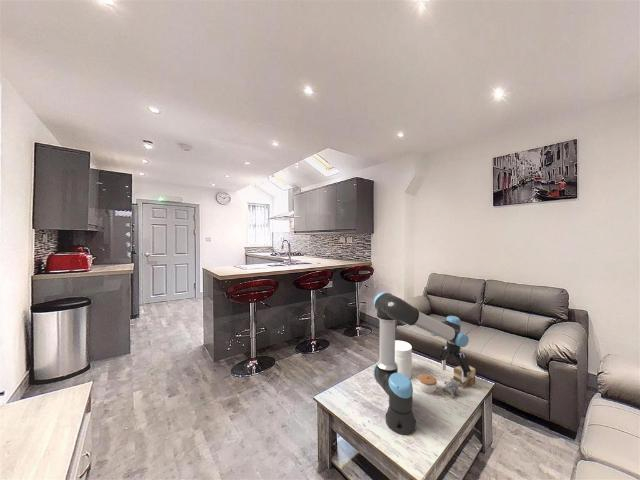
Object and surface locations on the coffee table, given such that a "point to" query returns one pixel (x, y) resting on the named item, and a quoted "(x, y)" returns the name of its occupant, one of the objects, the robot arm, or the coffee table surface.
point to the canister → (403, 358)
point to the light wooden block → (470, 374)
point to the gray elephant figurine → (452, 387)
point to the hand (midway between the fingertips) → (453, 375)
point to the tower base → (466, 383)
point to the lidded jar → (427, 383)
